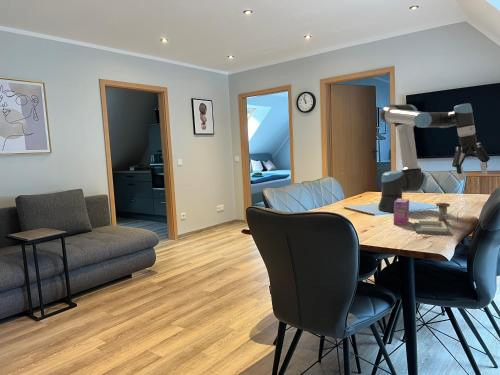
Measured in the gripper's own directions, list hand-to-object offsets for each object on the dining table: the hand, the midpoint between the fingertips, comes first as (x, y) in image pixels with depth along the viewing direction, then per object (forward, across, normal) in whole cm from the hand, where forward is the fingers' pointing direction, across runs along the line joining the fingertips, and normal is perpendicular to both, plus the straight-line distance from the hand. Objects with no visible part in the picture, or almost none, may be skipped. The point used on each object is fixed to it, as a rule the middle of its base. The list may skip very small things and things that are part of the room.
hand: (473, 177), depth 182 cm
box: (+17, -36, +12) cm, 41 cm away
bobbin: (+20, -19, +4) cm, 28 cm away
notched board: (+19, -32, -5) cm, 38 cm away
